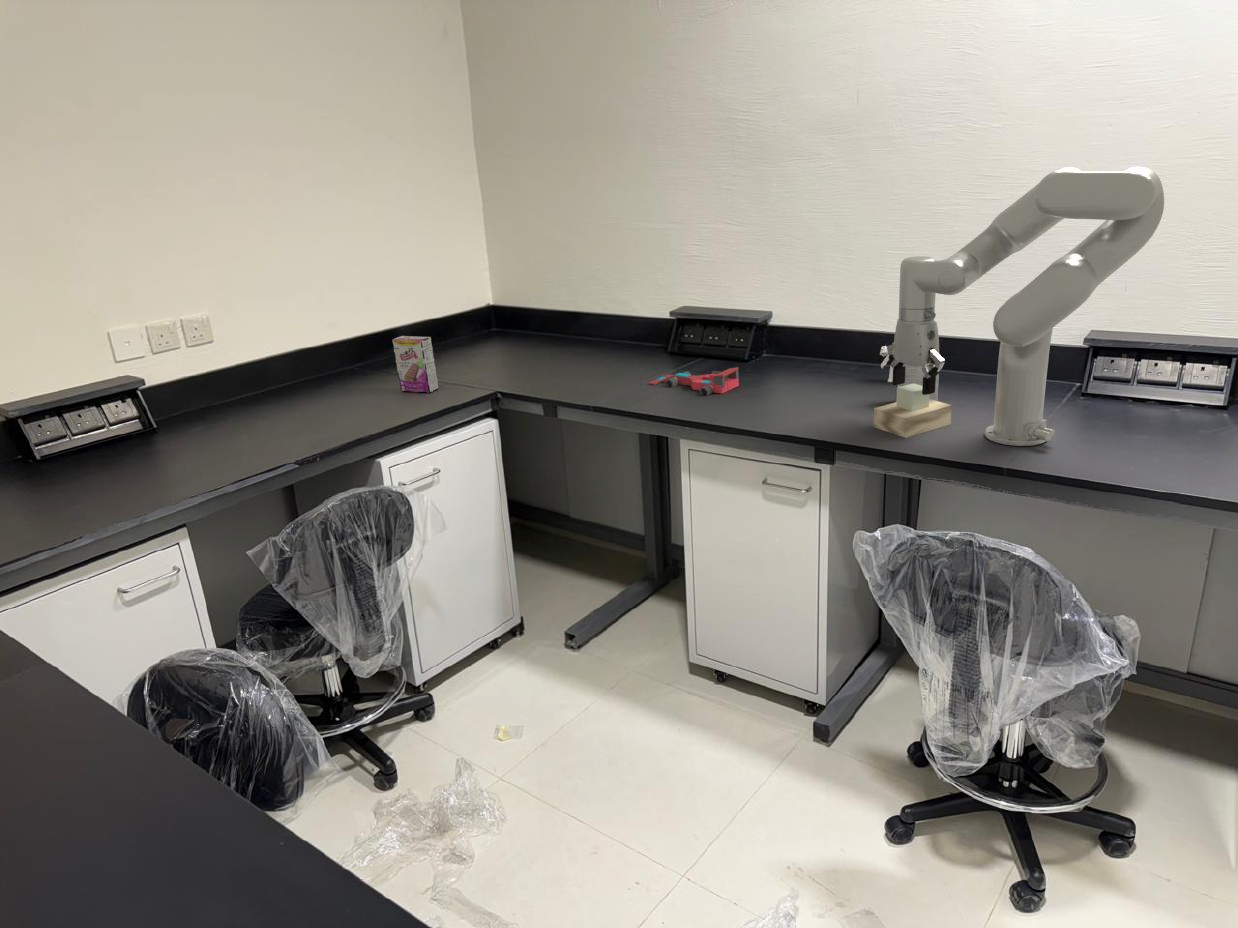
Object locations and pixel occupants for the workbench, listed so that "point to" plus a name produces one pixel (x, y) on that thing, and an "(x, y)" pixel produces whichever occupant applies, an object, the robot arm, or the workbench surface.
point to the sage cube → (911, 397)
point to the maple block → (912, 418)
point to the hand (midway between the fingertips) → (913, 388)
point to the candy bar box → (415, 363)
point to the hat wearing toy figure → (884, 350)
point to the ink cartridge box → (917, 379)
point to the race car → (704, 381)
